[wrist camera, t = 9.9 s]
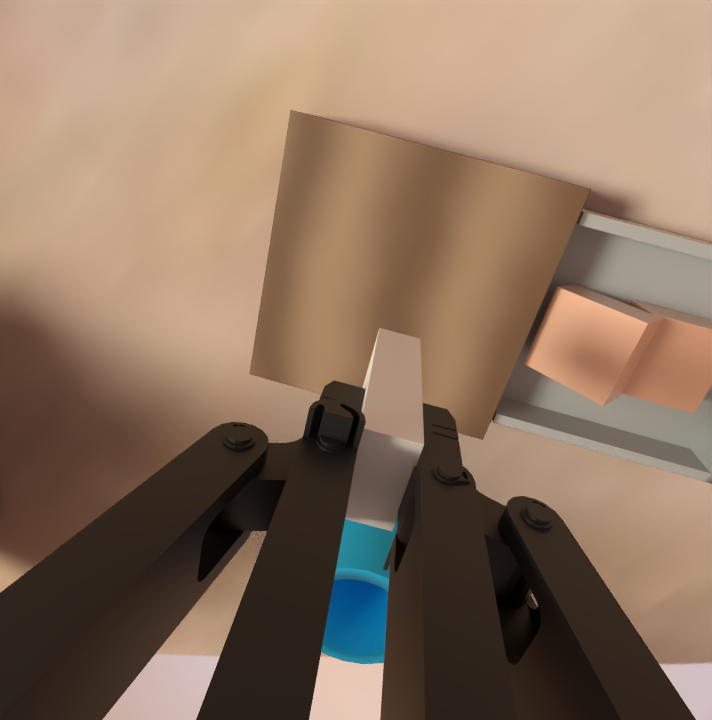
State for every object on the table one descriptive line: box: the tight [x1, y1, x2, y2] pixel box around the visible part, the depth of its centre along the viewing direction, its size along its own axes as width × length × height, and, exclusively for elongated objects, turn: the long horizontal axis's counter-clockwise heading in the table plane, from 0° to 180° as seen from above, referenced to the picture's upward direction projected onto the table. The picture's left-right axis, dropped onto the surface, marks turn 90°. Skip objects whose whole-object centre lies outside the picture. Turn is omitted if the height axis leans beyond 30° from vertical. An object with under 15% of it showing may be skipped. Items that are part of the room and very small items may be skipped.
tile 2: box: [524, 284, 663, 406], centre depth 25 cm, size 4×4×2 cm
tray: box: [492, 209, 712, 484], centre depth 26 cm, size 13×12×3 cm
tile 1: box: [621, 299, 712, 413], centre depth 26 cm, size 4×4×2 cm
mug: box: [321, 517, 398, 664], centre depth 33 cm, size 12×8×8 cm
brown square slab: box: [250, 110, 591, 440], centre depth 26 cm, size 14×14×4 cm
